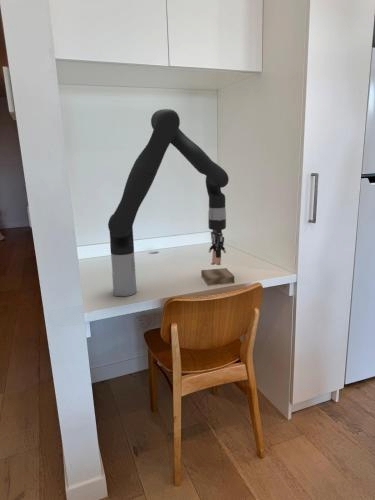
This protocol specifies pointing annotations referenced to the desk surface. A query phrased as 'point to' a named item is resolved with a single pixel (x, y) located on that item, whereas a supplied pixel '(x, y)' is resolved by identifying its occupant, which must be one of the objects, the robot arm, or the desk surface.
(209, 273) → the walnut plinth
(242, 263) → the desk surface
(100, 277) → the desk surface
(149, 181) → the robot arm
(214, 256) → the grandmother figurine
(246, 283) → the desk surface
